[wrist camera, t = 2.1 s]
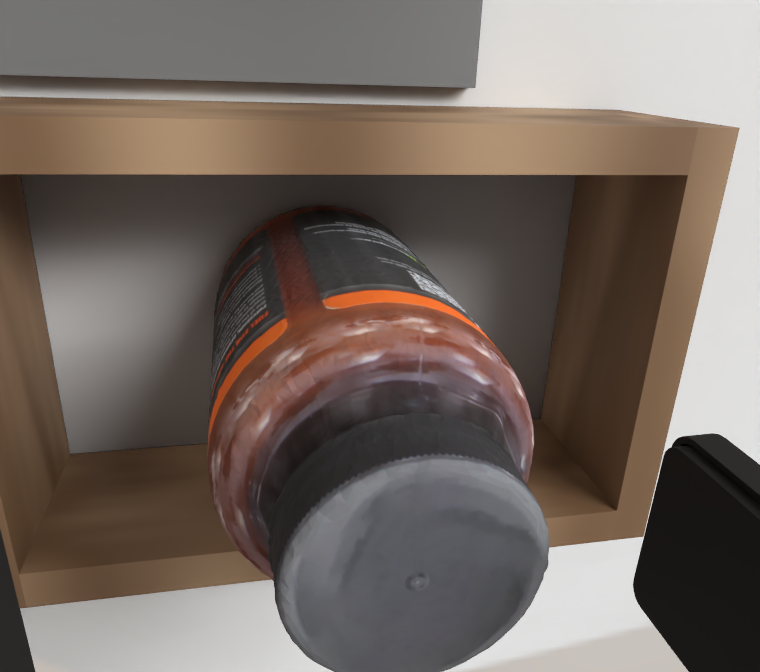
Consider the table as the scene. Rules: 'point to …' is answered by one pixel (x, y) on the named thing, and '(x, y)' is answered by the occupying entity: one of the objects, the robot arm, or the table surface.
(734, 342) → the table surface
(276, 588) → the supplement bottle
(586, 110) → the crate
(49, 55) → the mat
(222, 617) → the table surface
